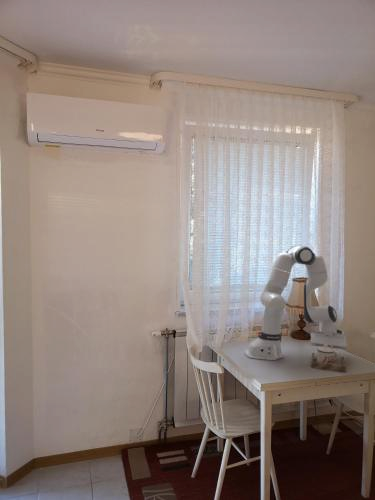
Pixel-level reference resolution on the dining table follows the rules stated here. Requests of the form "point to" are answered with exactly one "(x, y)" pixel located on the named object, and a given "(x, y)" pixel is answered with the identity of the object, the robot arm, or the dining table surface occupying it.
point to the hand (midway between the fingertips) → (328, 353)
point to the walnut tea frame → (328, 365)
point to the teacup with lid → (326, 355)
